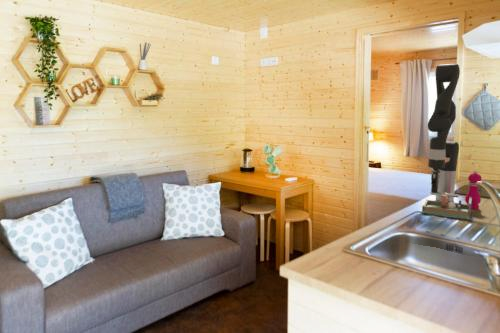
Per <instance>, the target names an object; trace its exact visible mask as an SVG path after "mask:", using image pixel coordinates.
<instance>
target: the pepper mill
mask: <svg viewBox="0 0 500 333" xmlns="http://www.w3.org/2000/svg"><path fill="white" fill-rule="evenodd" d="M467 180H468V181H469V182H468V185H469V190H468V192H467V193H466V195H465V198H464V201H465V204H469V198H470V197H472V202H471V210H475V211H476V210H480V205H479V204H480V203H481V202H482V199H481V195H480V193H479V187H480V186H478V185H476V182H477V181H480V182H482V175H481V174H479V173H478V171H477V170H473V173H470V174H469V175H468V177H467Z"/></svg>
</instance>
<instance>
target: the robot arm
mask: <svg viewBox="0 0 500 333" xmlns="http://www.w3.org/2000/svg"><path fill="white" fill-rule="evenodd" d="M460 73H461V72H460V65H459V64H458V63H446V64H445V63H444V64H438V65H436V67H435V86H436V99H435V105H434V109H433V112H432V115H431V117H430V118H429V120H428V122H427V129H428V131H429V132H431V133H437V134H436V136H433V137H431V138H430V144H429V153H428V161H427V162H428V163H427V164H428V165H427V166H428V168H430V169H432V171H430V173H431V174H430V175H431V178H430V179H431V183H430V186H432V193H436V192H437V182H438V192H441V193H451V194H455V192H456V191H455V188H456V177H457V167H458V166H457V165H458V159H459V152H460V145H459V142H458V141H452V140H451V141H450V140H448V136H449V133H450V131H451V129H452V125H453V124H454V122H455V120H456V119H457V117H456V116H457V115H456V114H457V113H456V112H457V109H456V108H457V107H456V104H455V102H454V101H453V96H454V95H455V92H456V88H457V85H458V82H459V78H460V75H461V74H460ZM444 83H449V84H448V85H446V86H447V87H445V85H444ZM446 158H447V159H449V160H448V161H447V162H446ZM433 181H436V182H433ZM454 200H455V197H449V196H447V202H454ZM435 201H442V196H439V195H435Z"/></svg>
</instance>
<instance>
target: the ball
mask: <svg viewBox="0 0 500 333" xmlns="http://www.w3.org/2000/svg"><path fill="white" fill-rule="evenodd" d="M455 203H456V202H454V201H452V202H449V203H448V204H447V208H448V209H453V210H454V209H455V208H456V205H455Z"/></svg>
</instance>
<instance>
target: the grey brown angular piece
mask: <svg viewBox="0 0 500 333" xmlns="http://www.w3.org/2000/svg"><path fill="white" fill-rule="evenodd" d="M433 182H436V181H433ZM430 186H431V188H430V192H429V193H430V195H432V196H436V195H439V196H442V206H441V208H444V209H446V207H447V196H449V197H454V198H459V196H460V194H458V193H454V194H451V193H441V192H438V182H437V192H436V193H432V185H430Z"/></svg>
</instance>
